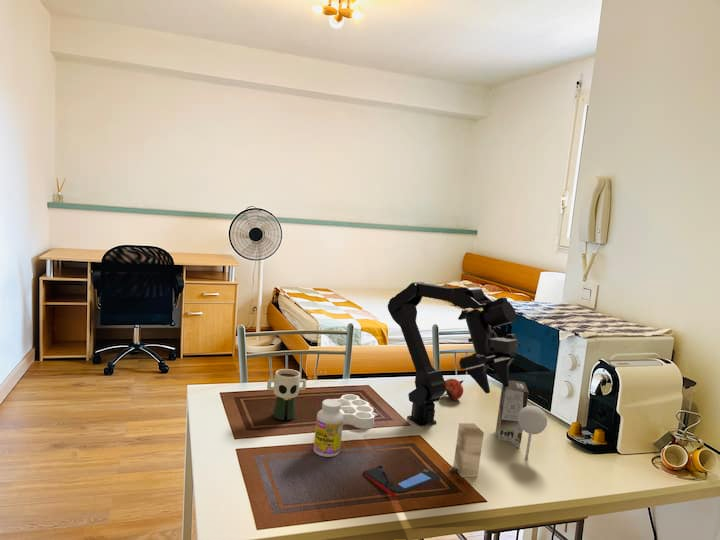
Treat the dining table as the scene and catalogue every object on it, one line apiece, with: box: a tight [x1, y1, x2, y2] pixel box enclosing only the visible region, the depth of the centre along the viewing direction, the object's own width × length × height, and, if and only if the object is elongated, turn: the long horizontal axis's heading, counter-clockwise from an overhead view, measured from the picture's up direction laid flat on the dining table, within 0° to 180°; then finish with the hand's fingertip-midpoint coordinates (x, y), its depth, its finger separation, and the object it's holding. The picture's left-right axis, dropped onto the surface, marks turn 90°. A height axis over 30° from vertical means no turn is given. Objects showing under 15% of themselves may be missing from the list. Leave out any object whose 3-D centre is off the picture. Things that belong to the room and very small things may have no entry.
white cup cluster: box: [333, 393, 379, 430], centre depth 151 cm, size 3×18×15 cm
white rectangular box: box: [449, 422, 485, 478], centre depth 121 cm, size 5×6×11 cm
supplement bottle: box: [313, 398, 344, 458], centre depth 127 cm, size 7×7×13 cm
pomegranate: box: [441, 378, 464, 401], centre depth 173 cm, size 7×7×10 cm
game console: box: [362, 465, 441, 499], centre depth 119 cm, size 14×13×2 cm
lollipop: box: [518, 405, 548, 460], centre depth 133 cm, size 7×7×15 cm
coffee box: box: [495, 379, 530, 448], centre depth 145 cm, size 9×6×16 cm
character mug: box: [266, 368, 307, 421], centre depth 144 cm, size 11×7×13 cm, turn 106°
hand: (497, 390), depth 134 cm, fingers open, 9 cm apart
